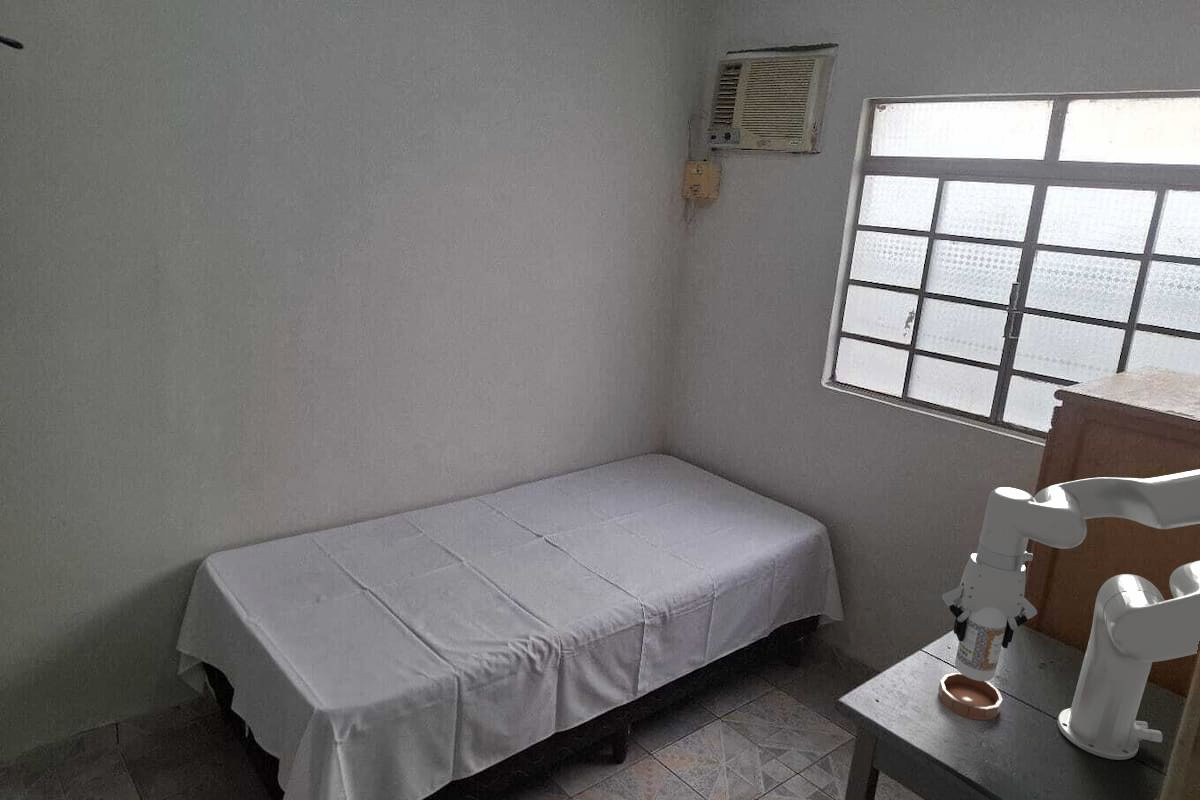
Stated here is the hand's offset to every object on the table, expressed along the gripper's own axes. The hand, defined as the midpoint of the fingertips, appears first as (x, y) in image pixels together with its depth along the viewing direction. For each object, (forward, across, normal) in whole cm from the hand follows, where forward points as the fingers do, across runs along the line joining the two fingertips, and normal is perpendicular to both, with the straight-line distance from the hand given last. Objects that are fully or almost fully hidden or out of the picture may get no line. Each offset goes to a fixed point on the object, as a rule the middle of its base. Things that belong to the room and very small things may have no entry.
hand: (980, 639), depth 148 cm
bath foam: (+7, 0, 0) cm, 7 cm away
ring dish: (+14, 0, 0) cm, 14 cm away
